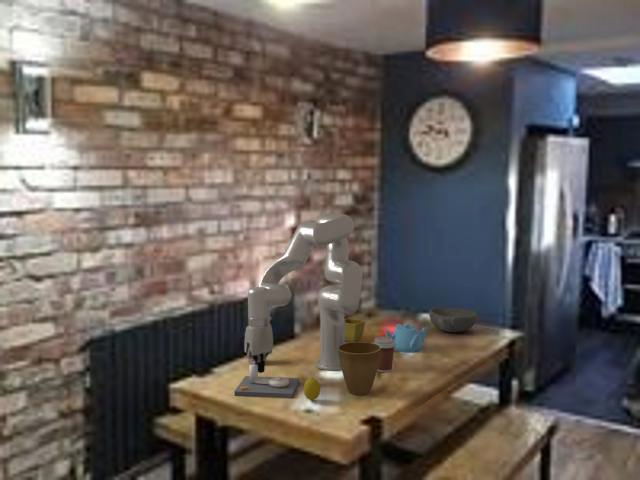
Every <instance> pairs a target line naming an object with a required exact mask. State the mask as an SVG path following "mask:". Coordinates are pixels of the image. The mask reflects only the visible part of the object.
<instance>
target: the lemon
mask: <svg viewBox="0 0 640 480" xmlns="http://www.w3.org/2000/svg"><path fill="white" fill-rule="evenodd" d="M303 394H304V396H305V398H306V399H308V400H310V401H311V402H313V401H314V400H316V399H317V398H318V397H319V396H320V395H321V386H320V382H319V380H317V379H315V378H314V377H311V378H309V379H307V380H306V381H305V383H304V385H303Z"/></svg>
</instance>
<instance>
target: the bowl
mask: <svg viewBox="0 0 640 480" xmlns="http://www.w3.org/2000/svg"><path fill="white" fill-rule="evenodd" d="M428 311H429V312H428V316H429V319H430V322H431V323H432V325H433V326H434V327H435V328H436V329H438V330H440V331H442V332H446V333H447V332H448V333H460V332H462V333H463V332H465V331H468V330H470V329H471V328H473V326H475V324H476V323H477V321H478V313H477V312H476V311H475V310H471V309H467V308H461V307H449V306H439V307H438V306H437V307H432V308H431V309H429V310H428Z"/></svg>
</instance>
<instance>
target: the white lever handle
mask: <svg viewBox="0 0 640 480" xmlns="http://www.w3.org/2000/svg"><path fill="white" fill-rule="evenodd" d="M248 367H249V372H248V376H249V382H250V383H258V384H269V385H270V386H272V387H286V386H288V385H289V379H287V378H288V377H282V376H274V377H275V378H271V379H258V377H259V375H258V374H259V372H258V365H256V364H249V366H248Z"/></svg>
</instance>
